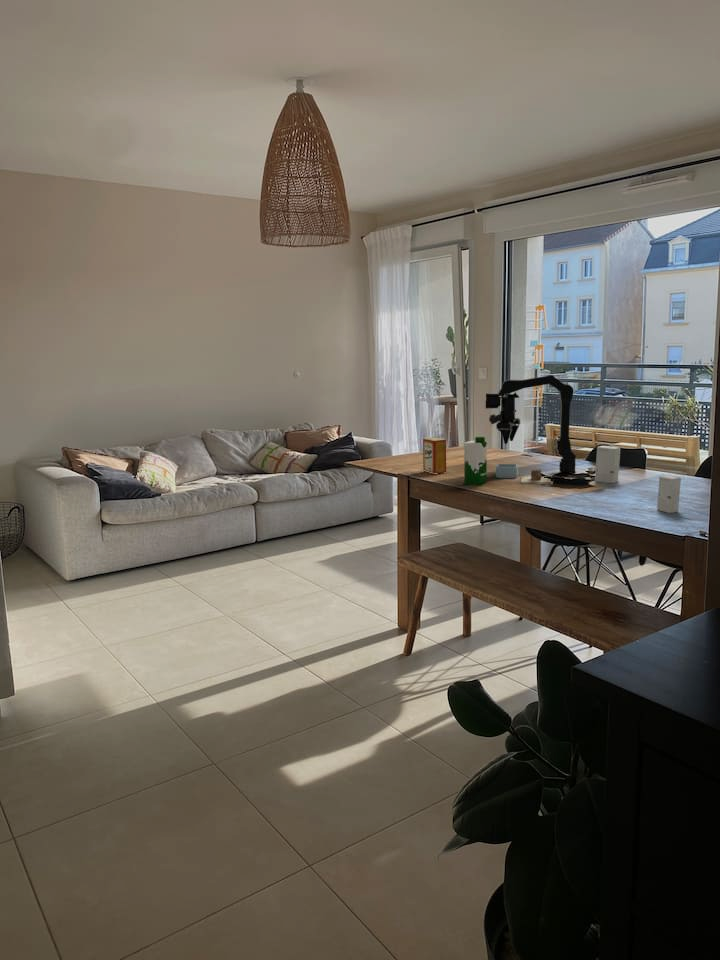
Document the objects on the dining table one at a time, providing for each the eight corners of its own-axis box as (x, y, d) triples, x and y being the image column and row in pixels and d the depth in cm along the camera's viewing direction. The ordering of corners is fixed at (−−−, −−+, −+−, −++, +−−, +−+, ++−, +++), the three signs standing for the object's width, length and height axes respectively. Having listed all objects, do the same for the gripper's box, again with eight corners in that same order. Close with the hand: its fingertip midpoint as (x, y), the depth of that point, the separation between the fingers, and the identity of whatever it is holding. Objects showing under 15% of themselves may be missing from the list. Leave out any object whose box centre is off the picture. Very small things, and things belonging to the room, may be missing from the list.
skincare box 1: (594, 481, 317) (595, 446, 315) (600, 479, 322) (601, 445, 319) (614, 483, 312) (615, 448, 309) (619, 481, 316) (620, 446, 314)
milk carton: (480, 486, 316) (480, 438, 312) (461, 484, 321) (460, 437, 317) (489, 482, 323) (489, 436, 319) (470, 480, 328) (470, 435, 324)
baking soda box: (423, 471, 354) (422, 438, 351) (435, 470, 357) (434, 436, 354) (434, 474, 346) (433, 440, 343) (446, 473, 349) (445, 438, 346)
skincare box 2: (656, 510, 264) (657, 476, 262) (665, 508, 266) (667, 474, 263) (670, 513, 258) (671, 478, 256) (679, 511, 260) (681, 477, 258)
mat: (553, 479, 326) (553, 478, 326) (552, 485, 312) (552, 484, 312) (520, 478, 329) (520, 477, 329) (518, 484, 316) (518, 483, 316)
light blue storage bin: (518, 475, 338) (518, 464, 337) (516, 478, 329) (516, 467, 328) (497, 474, 340) (497, 463, 339) (496, 478, 332) (496, 467, 331)
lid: (550, 478, 325) (551, 467, 324) (550, 483, 313) (550, 472, 313) (522, 478, 328) (522, 467, 327) (520, 483, 317) (520, 472, 316)
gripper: (496, 406, 351) (497, 439, 353) (485, 410, 334) (485, 444, 337) (520, 406, 346) (520, 439, 348) (509, 410, 329) (509, 445, 332)
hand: (508, 442), depth 342 cm, fingers open, 9 cm apart
